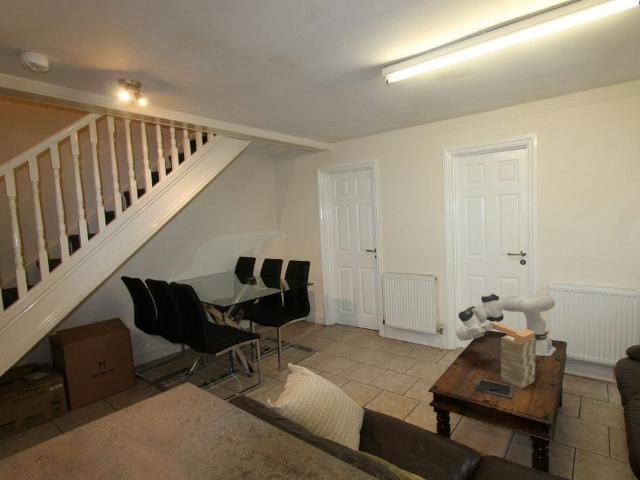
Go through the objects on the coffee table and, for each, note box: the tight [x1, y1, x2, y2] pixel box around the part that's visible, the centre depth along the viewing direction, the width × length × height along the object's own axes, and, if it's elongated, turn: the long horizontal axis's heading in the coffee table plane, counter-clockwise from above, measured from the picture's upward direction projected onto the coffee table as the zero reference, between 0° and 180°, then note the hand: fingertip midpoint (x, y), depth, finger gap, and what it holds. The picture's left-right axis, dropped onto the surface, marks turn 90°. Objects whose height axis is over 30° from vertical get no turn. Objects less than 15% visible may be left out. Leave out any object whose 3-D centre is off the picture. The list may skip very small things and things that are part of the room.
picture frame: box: [474, 378, 514, 400], centre depth 195 cm, size 13×2×18 cm
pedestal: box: [500, 334, 536, 390], centre depth 201 cm, size 14×12×26 cm
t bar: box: [488, 321, 535, 344], centre depth 204 cm, size 12×23×4 cm, turn 31°
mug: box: [535, 357, 540, 379], centre depth 209 cm, size 12×8×9 cm, turn 117°
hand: (495, 325), depth 212 cm, fingers closed on t bar, 3 cm apart
